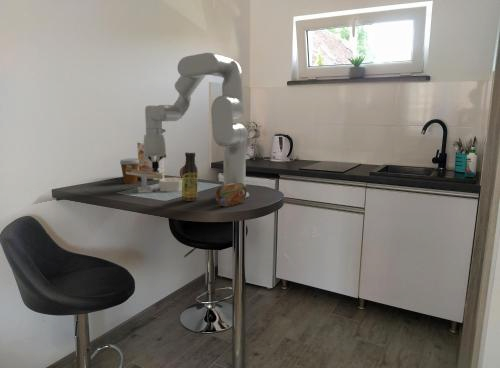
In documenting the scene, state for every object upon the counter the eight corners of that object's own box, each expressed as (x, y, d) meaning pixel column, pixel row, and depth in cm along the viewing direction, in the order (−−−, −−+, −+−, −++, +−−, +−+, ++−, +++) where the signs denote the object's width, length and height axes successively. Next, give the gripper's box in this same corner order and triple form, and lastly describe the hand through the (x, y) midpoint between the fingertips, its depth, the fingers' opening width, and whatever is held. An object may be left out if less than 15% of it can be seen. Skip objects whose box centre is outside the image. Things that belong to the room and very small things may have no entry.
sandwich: (219, 208, 140) (219, 186, 139) (214, 207, 142) (214, 185, 141) (246, 202, 151) (247, 181, 149) (241, 200, 153) (241, 180, 152)
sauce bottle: (184, 202, 149) (183, 153, 145) (180, 199, 154) (179, 151, 151) (199, 201, 151) (199, 152, 148) (195, 198, 157) (195, 151, 153)
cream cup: (185, 190, 172) (185, 181, 171) (161, 192, 168) (160, 182, 167) (181, 186, 183) (181, 177, 182) (158, 187, 179) (157, 178, 178)
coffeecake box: (138, 176, 209) (136, 142, 205) (149, 175, 214) (147, 141, 211) (154, 180, 199) (152, 143, 196) (164, 178, 205) (163, 143, 201)
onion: (195, 180, 200) (195, 161, 198) (200, 183, 192) (199, 164, 190) (178, 181, 197) (177, 162, 195) (181, 184, 188) (181, 164, 186)
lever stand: (152, 192, 168) (151, 173, 166) (138, 192, 166) (137, 174, 164) (150, 188, 176) (149, 171, 175) (137, 189, 174) (136, 171, 173)
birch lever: (162, 178, 170) (163, 171, 170) (126, 174, 164) (127, 166, 164) (158, 174, 182) (159, 167, 182) (125, 170, 176) (126, 163, 176)
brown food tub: (117, 182, 190) (115, 159, 188) (132, 180, 198) (131, 157, 196) (128, 184, 185) (127, 161, 183) (144, 182, 193) (143, 159, 190)
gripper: (168, 131, 182) (170, 168, 185) (137, 131, 177) (139, 169, 180) (171, 132, 175) (172, 170, 178) (138, 132, 170) (140, 171, 173)
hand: (155, 169), depth 179 cm, fingers closed
